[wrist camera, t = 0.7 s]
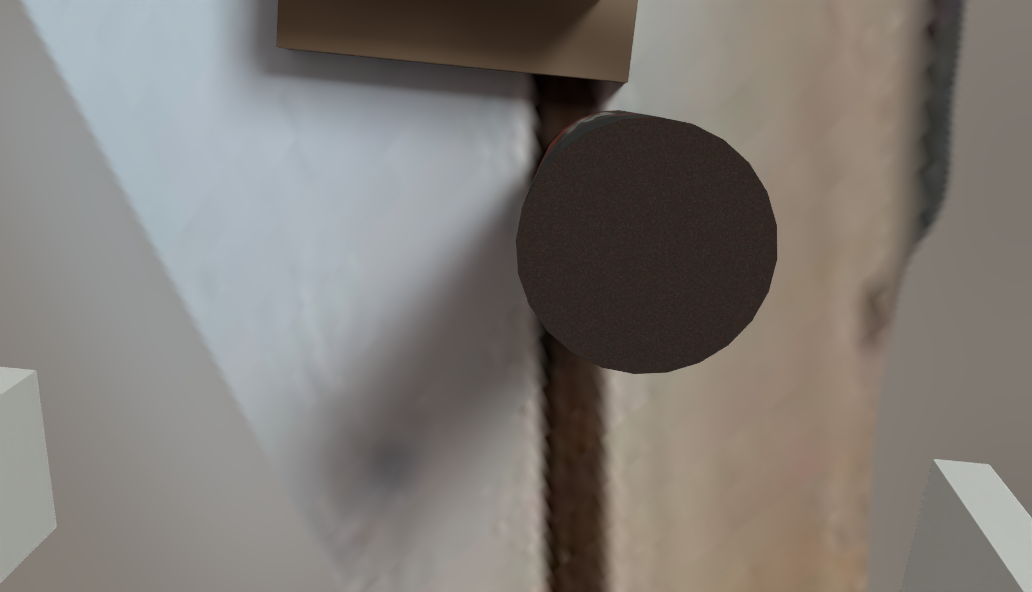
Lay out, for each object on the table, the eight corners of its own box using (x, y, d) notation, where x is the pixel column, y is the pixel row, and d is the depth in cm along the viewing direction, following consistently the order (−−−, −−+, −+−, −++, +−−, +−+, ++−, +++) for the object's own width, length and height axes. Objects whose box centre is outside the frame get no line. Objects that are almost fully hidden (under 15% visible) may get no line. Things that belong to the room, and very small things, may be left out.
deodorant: (621, 77, 34) (663, 59, 20) (720, 195, 35) (831, 262, 20) (505, 180, 35) (462, 236, 21) (603, 292, 36) (629, 423, 21)
